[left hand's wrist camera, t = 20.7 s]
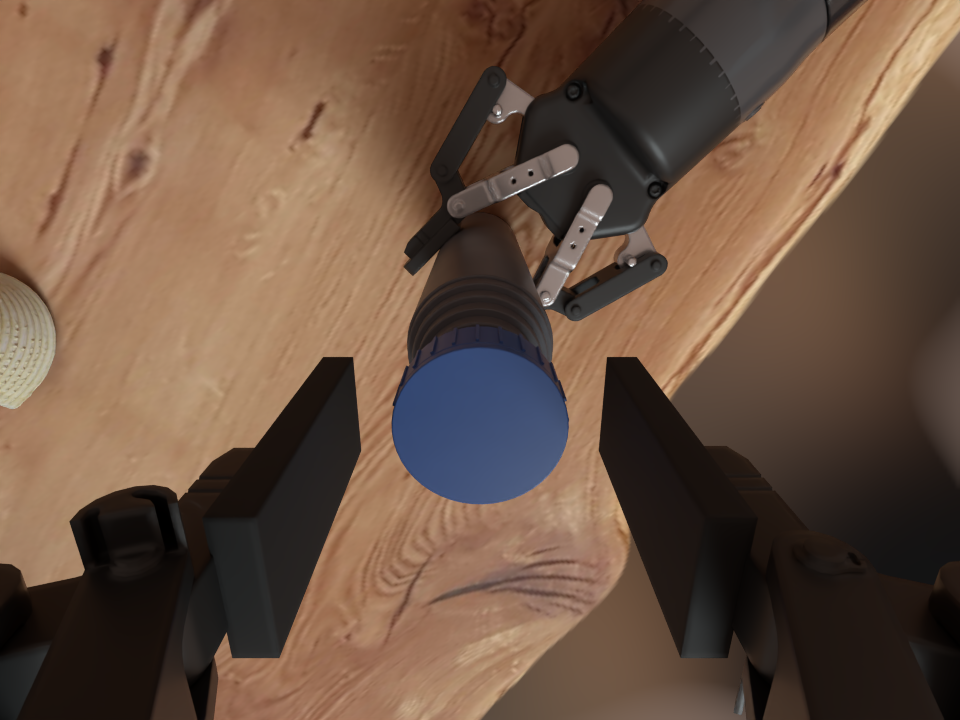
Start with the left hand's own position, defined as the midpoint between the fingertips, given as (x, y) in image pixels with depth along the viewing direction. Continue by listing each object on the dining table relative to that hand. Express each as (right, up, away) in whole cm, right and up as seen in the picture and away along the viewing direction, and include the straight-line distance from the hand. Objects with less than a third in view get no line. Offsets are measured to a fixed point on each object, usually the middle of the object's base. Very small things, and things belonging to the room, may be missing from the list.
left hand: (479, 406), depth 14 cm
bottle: (0, +8, +22) cm, 23 cm away
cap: (0, 0, -1) cm, 1 cm away
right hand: (-2, +4, +17) cm, 17 cm away
